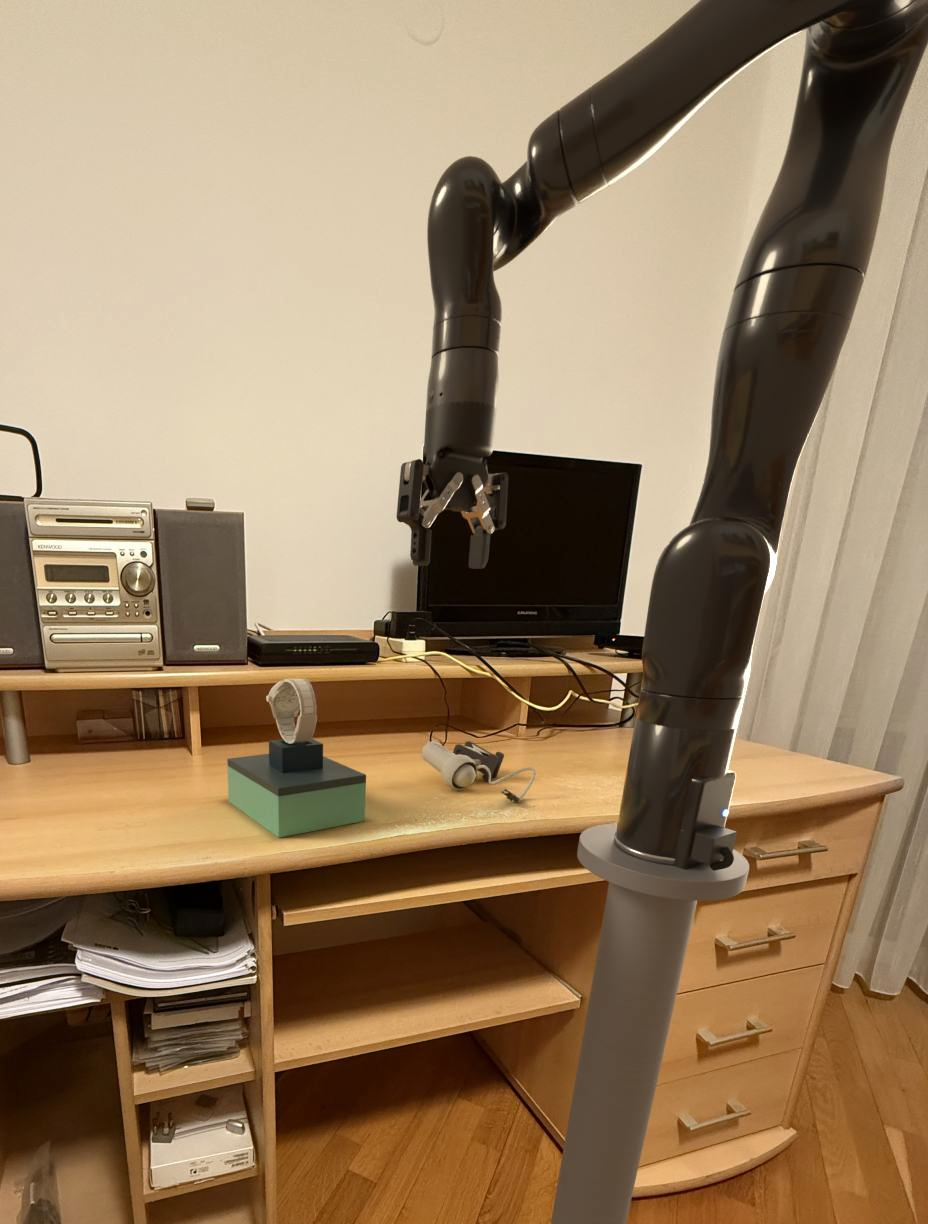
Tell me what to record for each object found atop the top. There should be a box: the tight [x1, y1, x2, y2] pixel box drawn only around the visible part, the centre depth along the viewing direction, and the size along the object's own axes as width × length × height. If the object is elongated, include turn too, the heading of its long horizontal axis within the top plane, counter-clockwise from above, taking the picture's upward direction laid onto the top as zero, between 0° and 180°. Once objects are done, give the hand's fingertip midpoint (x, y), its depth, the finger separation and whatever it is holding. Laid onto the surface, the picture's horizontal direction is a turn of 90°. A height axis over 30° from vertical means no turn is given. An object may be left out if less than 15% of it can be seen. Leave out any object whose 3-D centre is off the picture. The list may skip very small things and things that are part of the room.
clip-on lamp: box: [421, 740, 536, 803], centre depth 92 cm, size 12×6×18 cm
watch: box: [265, 677, 324, 773], centre depth 78 cm, size 6×8×11 cm
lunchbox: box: [226, 753, 367, 839], centre depth 81 cm, size 15×12×6 cm
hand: (449, 567), depth 74 cm, fingers open, 8 cm apart
